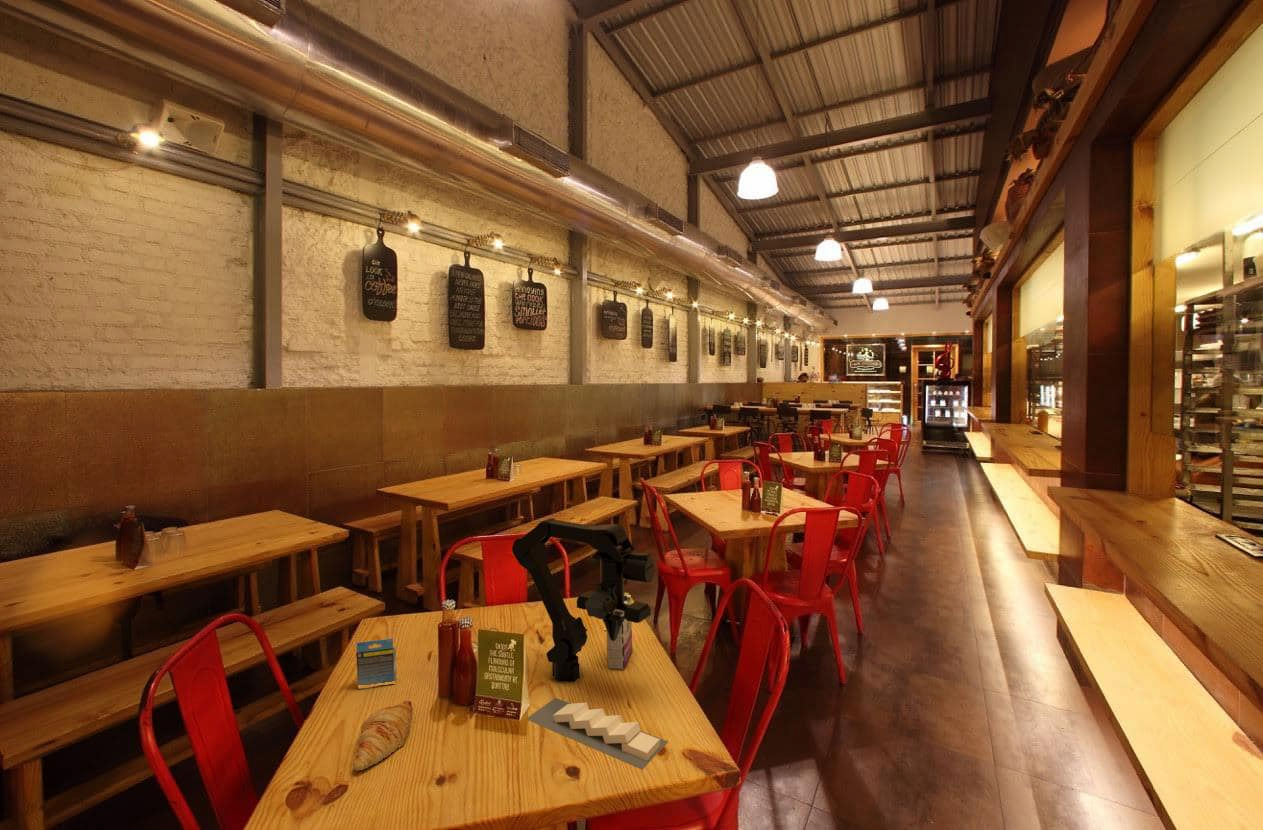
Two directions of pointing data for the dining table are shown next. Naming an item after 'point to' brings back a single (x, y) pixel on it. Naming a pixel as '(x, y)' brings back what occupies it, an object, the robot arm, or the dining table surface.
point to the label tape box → (376, 662)
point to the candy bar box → (620, 645)
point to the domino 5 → (642, 745)
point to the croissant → (383, 734)
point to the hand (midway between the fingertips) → (613, 640)
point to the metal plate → (596, 742)
